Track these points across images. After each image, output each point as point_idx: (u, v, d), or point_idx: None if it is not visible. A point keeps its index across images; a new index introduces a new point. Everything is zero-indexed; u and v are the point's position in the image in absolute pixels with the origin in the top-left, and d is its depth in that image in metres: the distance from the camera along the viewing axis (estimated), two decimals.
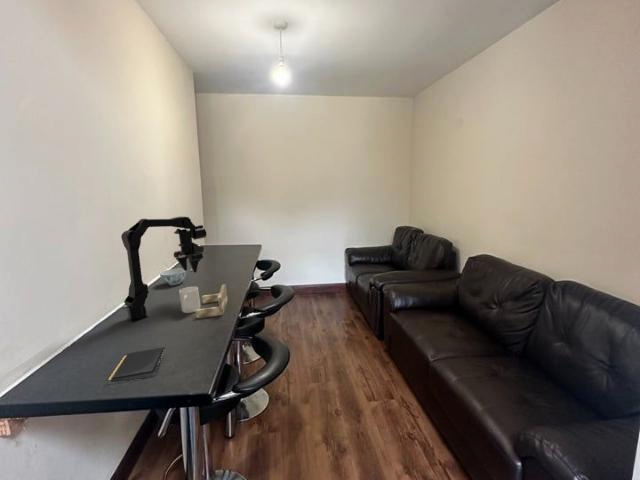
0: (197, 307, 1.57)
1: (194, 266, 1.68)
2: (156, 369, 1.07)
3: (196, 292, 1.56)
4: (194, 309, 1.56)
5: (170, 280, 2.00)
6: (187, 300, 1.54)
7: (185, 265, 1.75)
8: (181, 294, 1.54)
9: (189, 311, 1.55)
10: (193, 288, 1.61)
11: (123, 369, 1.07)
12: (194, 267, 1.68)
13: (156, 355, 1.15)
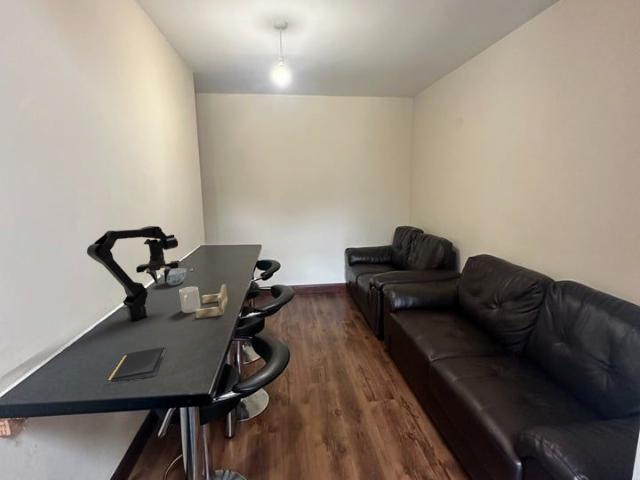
0: (197, 307, 1.57)
1: None
2: (156, 369, 1.07)
3: (196, 292, 1.56)
4: (194, 309, 1.56)
5: (170, 280, 2.00)
6: (187, 300, 1.54)
7: None
8: (181, 294, 1.54)
9: (189, 311, 1.55)
10: (193, 288, 1.61)
11: (123, 369, 1.07)
12: None
13: (156, 355, 1.15)
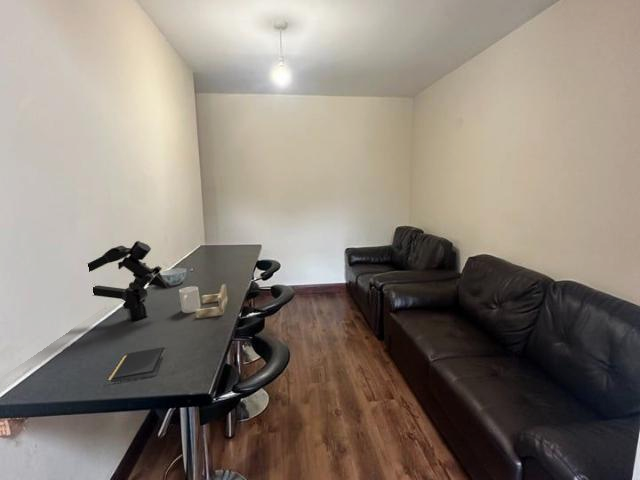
0: (197, 307, 1.57)
1: None
2: (156, 369, 1.07)
3: (196, 292, 1.56)
4: (194, 309, 1.56)
5: (170, 280, 2.00)
6: (187, 300, 1.54)
7: None
8: (181, 294, 1.54)
9: (189, 311, 1.55)
10: (193, 288, 1.61)
11: (123, 369, 1.07)
12: None
13: (156, 355, 1.15)
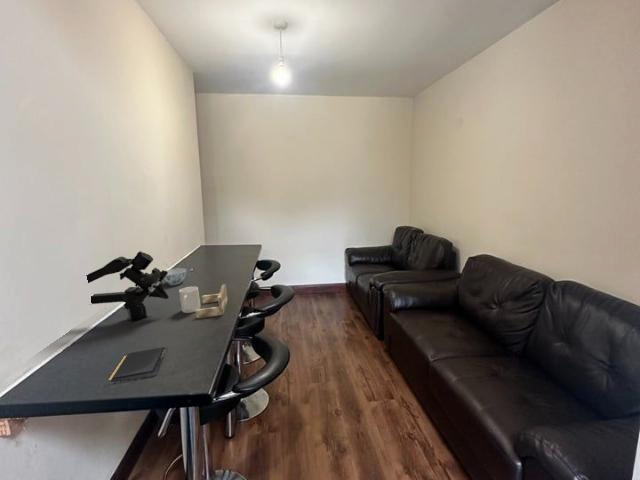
0: (197, 307, 1.57)
1: (159, 296, 1.53)
2: (156, 369, 1.07)
3: (196, 292, 1.56)
4: (194, 309, 1.56)
5: (170, 280, 2.00)
6: (187, 300, 1.54)
7: (163, 294, 1.54)
8: (181, 294, 1.54)
9: (189, 311, 1.55)
10: (193, 288, 1.61)
11: (123, 369, 1.07)
12: (160, 296, 1.53)
13: (156, 355, 1.15)
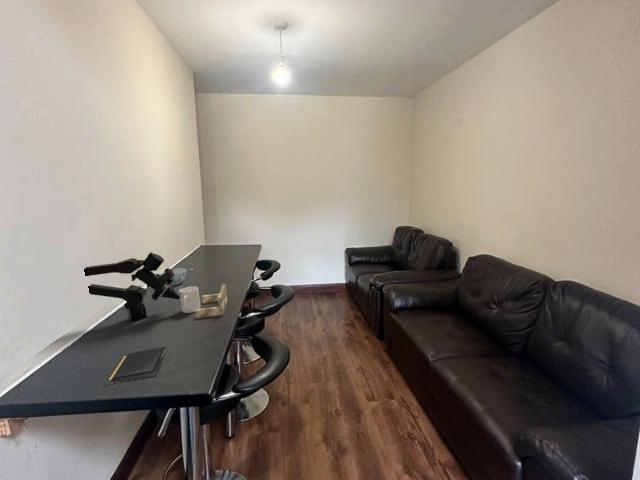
0: (197, 307, 1.57)
1: (171, 296, 1.54)
2: (157, 369, 1.07)
3: (196, 292, 1.56)
4: (194, 309, 1.56)
5: None
6: (187, 300, 1.54)
7: None
8: (181, 294, 1.54)
9: (189, 311, 1.55)
10: (193, 288, 1.61)
11: (123, 369, 1.07)
12: (172, 296, 1.54)
13: (156, 355, 1.15)
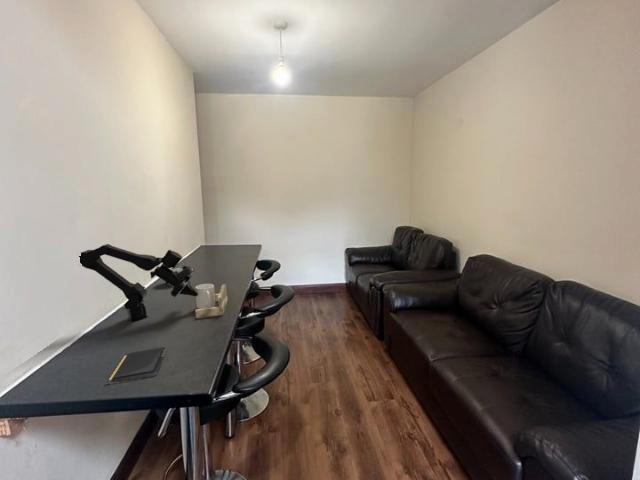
0: (214, 303, 1.61)
1: (189, 293, 1.55)
2: (157, 369, 1.08)
3: (213, 288, 1.60)
4: (213, 305, 1.60)
5: None
6: (207, 296, 1.57)
7: None
8: (201, 291, 1.56)
9: (209, 307, 1.58)
10: (205, 285, 1.64)
11: (124, 369, 1.07)
12: (190, 293, 1.55)
13: (156, 355, 1.15)
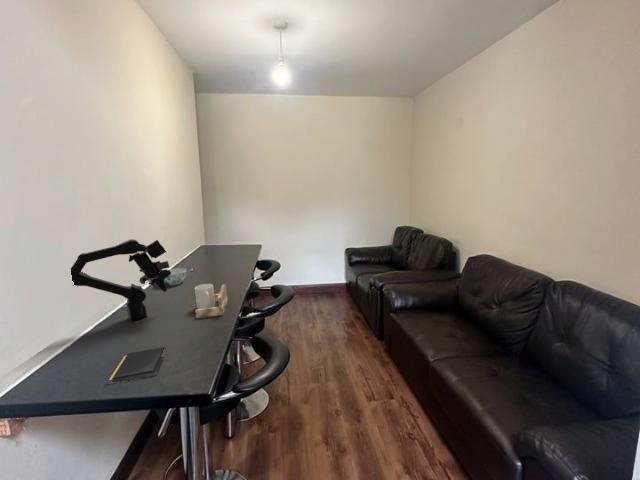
0: (214, 303, 1.61)
1: (161, 286, 1.56)
2: (157, 369, 1.08)
3: None
4: (213, 305, 1.60)
5: (170, 280, 2.00)
6: (207, 296, 1.57)
7: None
8: (200, 291, 1.56)
9: (209, 307, 1.58)
10: (204, 286, 1.64)
11: (124, 369, 1.07)
12: (162, 287, 1.56)
13: (157, 355, 1.15)
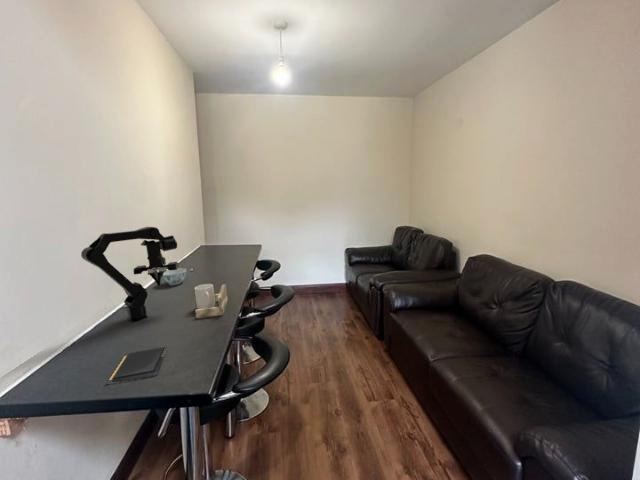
0: (214, 303, 1.61)
1: (161, 278, 1.60)
2: (157, 368, 1.08)
3: None
4: (213, 305, 1.60)
5: (170, 280, 2.00)
6: (207, 296, 1.57)
7: None
8: (200, 291, 1.56)
9: (209, 307, 1.58)
10: (204, 286, 1.64)
11: (124, 369, 1.07)
12: (161, 279, 1.60)
13: (157, 355, 1.15)
